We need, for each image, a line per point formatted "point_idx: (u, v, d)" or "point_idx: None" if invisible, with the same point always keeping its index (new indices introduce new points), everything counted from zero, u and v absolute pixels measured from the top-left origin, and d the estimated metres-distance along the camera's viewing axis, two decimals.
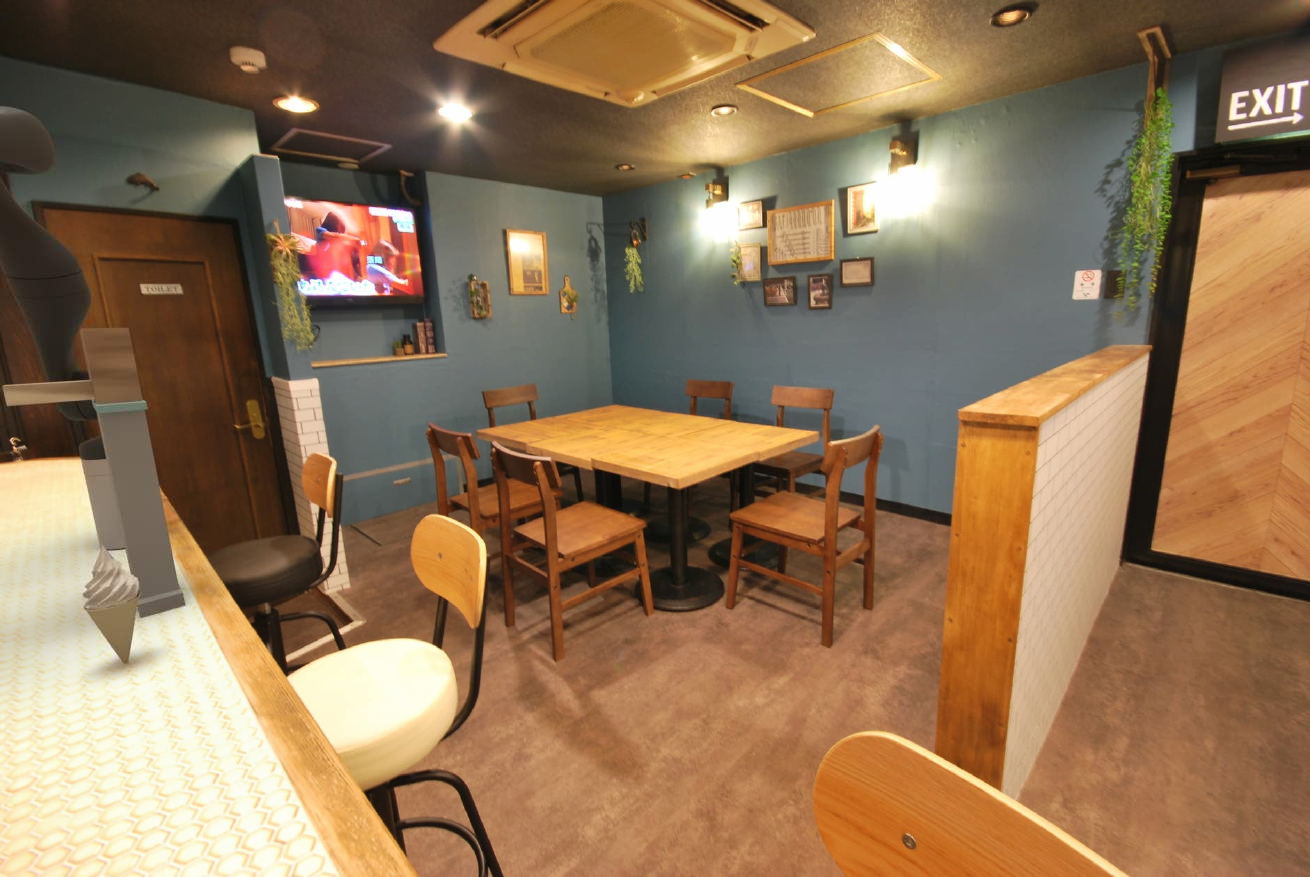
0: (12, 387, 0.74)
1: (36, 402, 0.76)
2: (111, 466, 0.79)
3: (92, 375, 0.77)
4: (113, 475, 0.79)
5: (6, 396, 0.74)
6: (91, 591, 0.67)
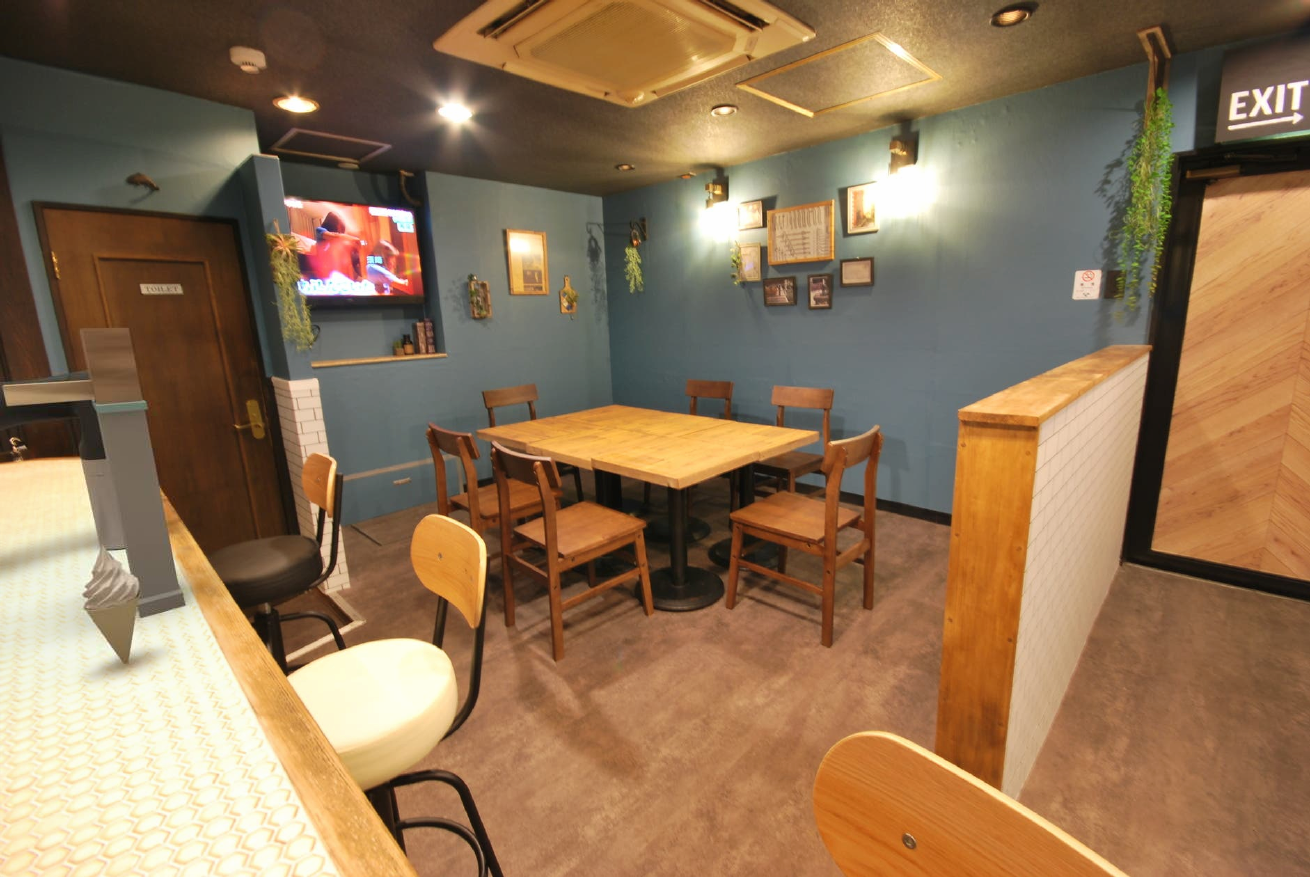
0: (12, 387, 0.74)
1: (36, 402, 0.76)
2: (111, 466, 0.79)
3: (92, 375, 0.77)
4: (113, 475, 0.79)
5: (6, 396, 0.74)
6: (91, 591, 0.67)
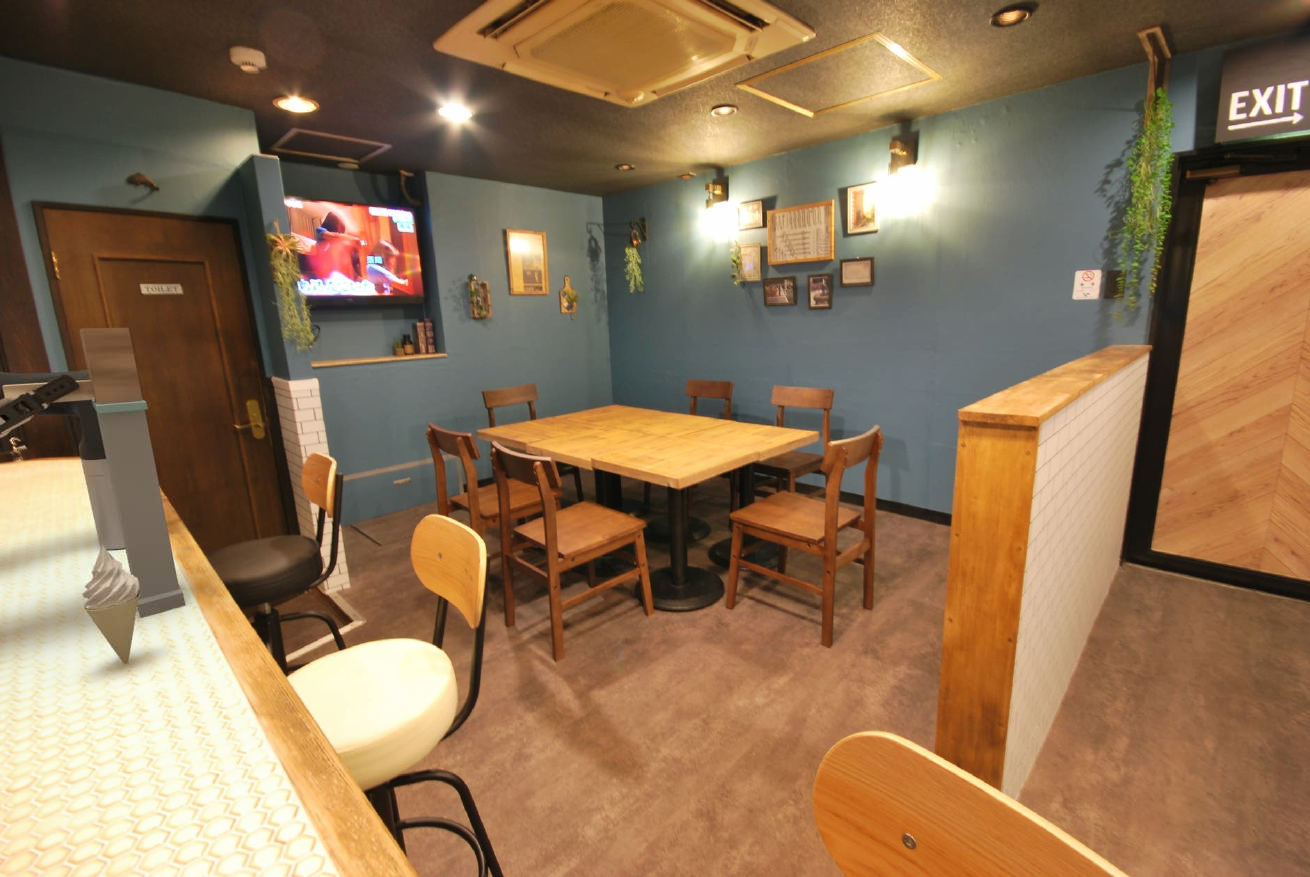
0: (12, 387, 0.74)
1: None
2: (111, 466, 0.79)
3: (92, 375, 0.77)
4: (113, 475, 0.79)
5: (6, 396, 0.74)
6: (91, 591, 0.67)
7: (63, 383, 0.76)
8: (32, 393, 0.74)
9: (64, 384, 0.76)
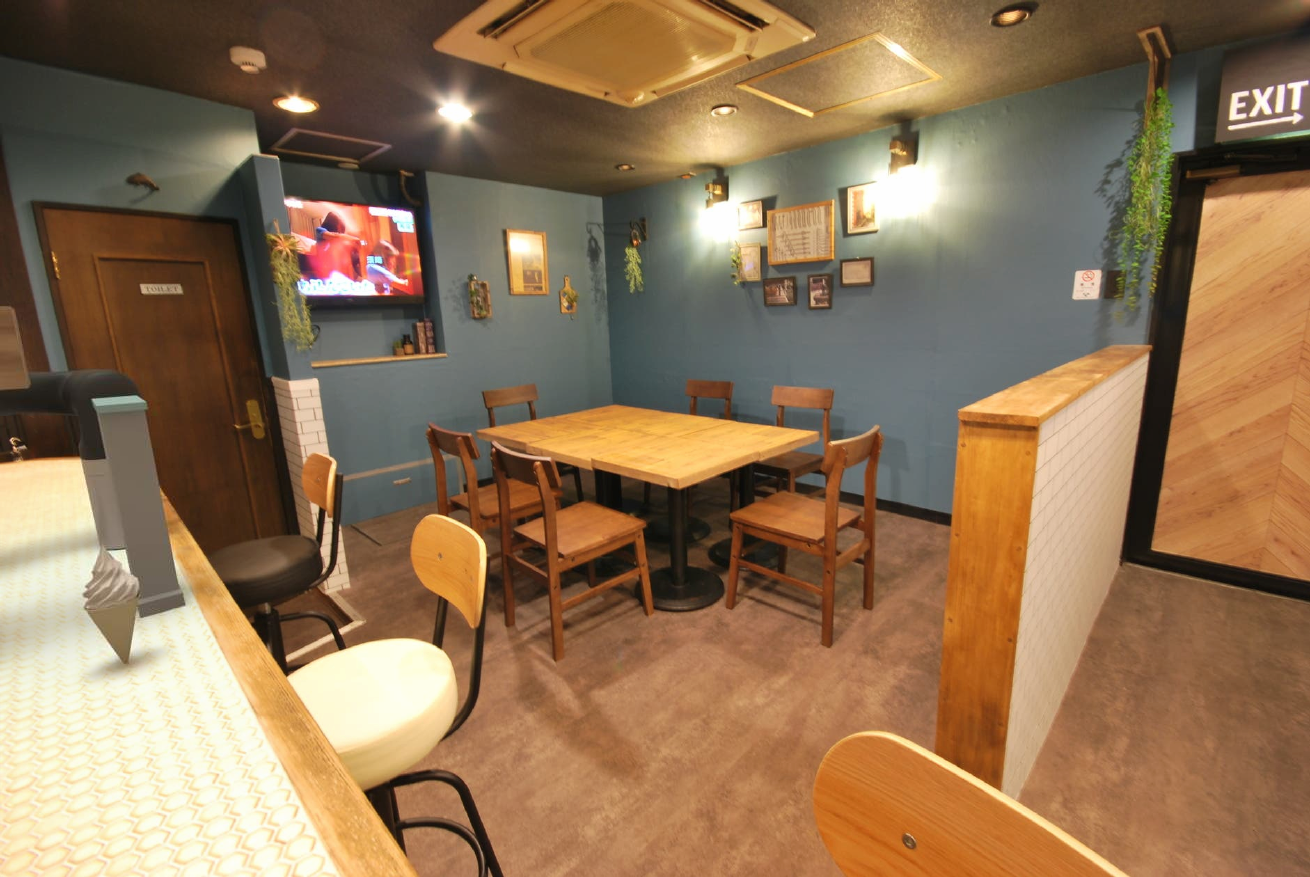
0: None
1: None
2: (111, 466, 0.79)
3: None
4: (113, 475, 0.79)
5: None
6: (91, 591, 0.67)
7: None
8: None
9: None
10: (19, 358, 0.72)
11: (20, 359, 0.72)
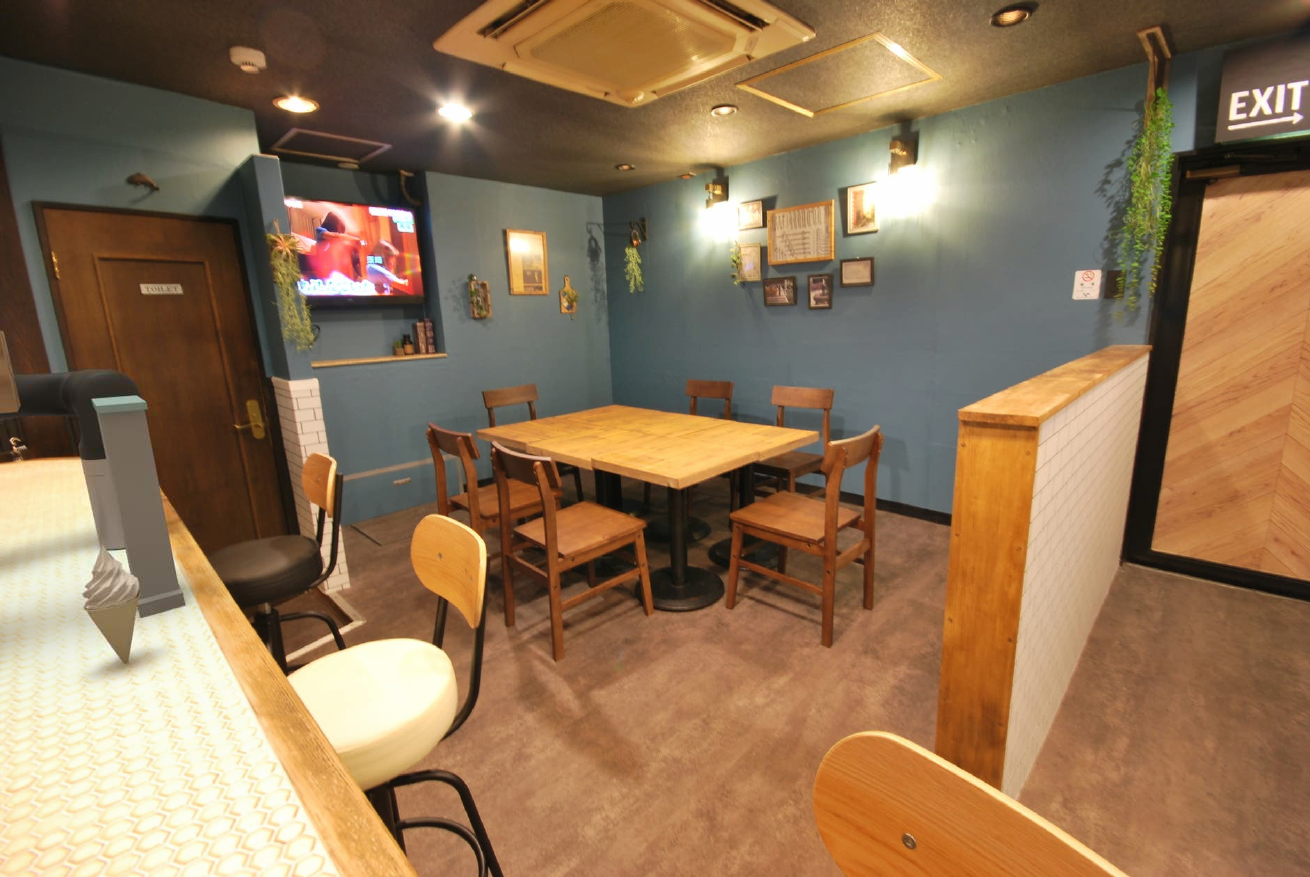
0: None
1: None
2: (111, 466, 0.79)
3: None
4: (113, 475, 0.79)
5: None
6: (91, 591, 0.67)
7: None
8: None
9: None
10: (8, 382, 0.71)
11: (9, 383, 0.71)
